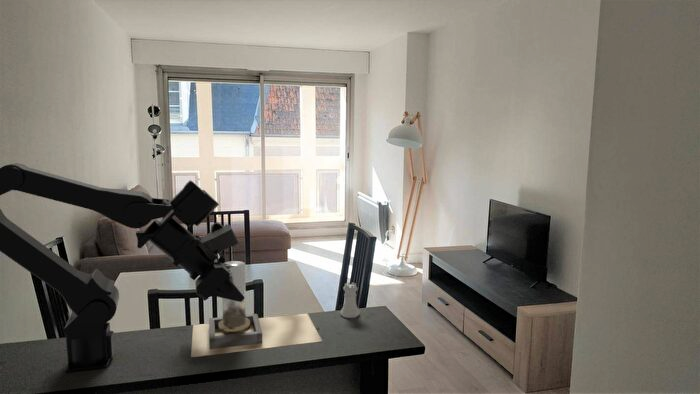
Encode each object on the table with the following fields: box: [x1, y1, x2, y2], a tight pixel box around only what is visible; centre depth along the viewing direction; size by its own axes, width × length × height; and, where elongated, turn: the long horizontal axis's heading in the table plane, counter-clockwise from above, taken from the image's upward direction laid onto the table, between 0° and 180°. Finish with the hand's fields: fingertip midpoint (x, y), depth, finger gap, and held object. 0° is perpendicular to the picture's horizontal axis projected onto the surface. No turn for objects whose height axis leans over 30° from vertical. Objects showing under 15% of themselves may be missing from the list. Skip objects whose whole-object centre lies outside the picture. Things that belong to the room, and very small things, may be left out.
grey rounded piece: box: [218, 260, 250, 335], centre depth 89 cm, size 6×6×13 cm
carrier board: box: [190, 313, 323, 358], centre depth 91 cm, size 24×14×3 cm, turn 107°
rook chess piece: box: [340, 281, 361, 319], centre depth 101 cm, size 4×4×8 cm
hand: (241, 295), depth 89 cm, fingers closed on grey rounded piece, 4 cm apart
